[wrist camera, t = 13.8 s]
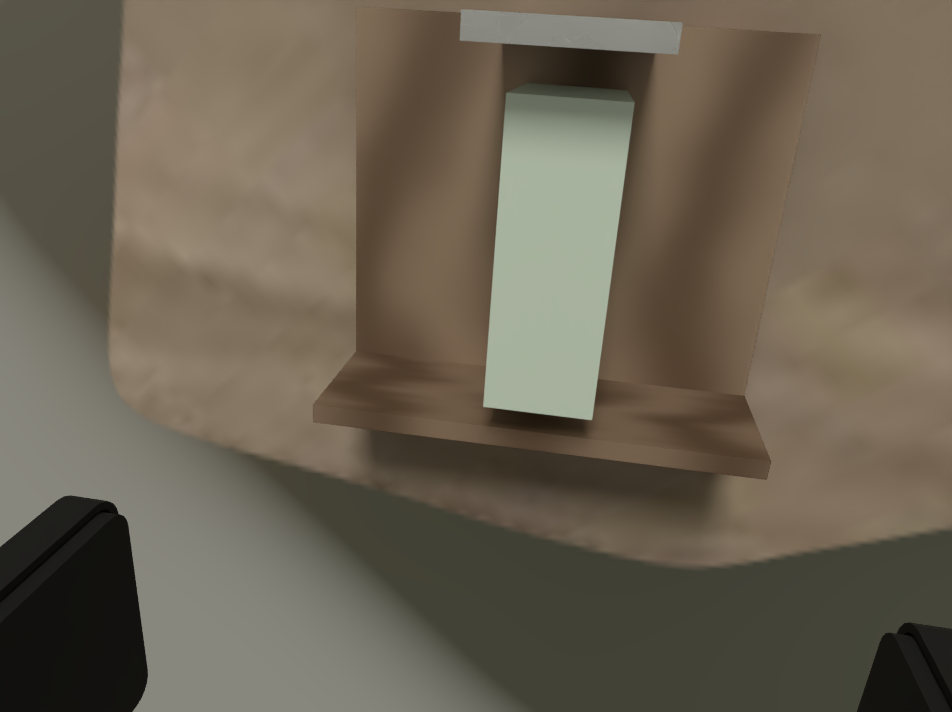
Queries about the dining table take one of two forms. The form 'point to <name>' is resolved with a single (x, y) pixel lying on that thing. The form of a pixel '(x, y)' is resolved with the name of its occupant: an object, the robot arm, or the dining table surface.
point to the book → (555, 246)
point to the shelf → (638, 237)
